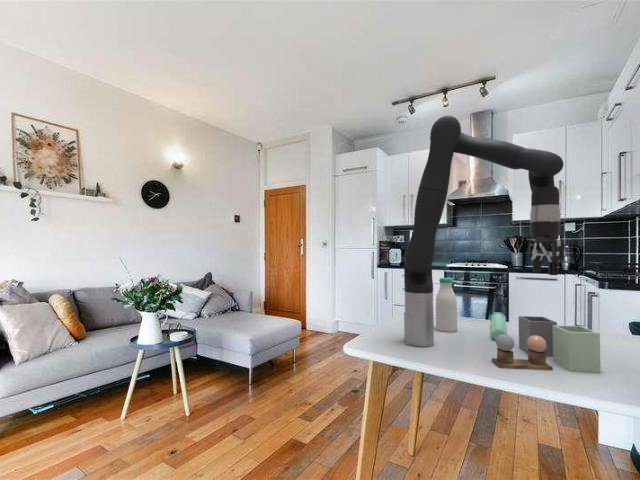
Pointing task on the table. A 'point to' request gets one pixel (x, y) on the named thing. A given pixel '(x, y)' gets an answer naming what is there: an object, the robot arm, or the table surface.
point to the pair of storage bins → (563, 343)
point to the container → (498, 325)
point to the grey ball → (504, 342)
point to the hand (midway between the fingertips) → (544, 273)
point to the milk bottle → (446, 307)
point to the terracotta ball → (536, 343)
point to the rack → (522, 360)
